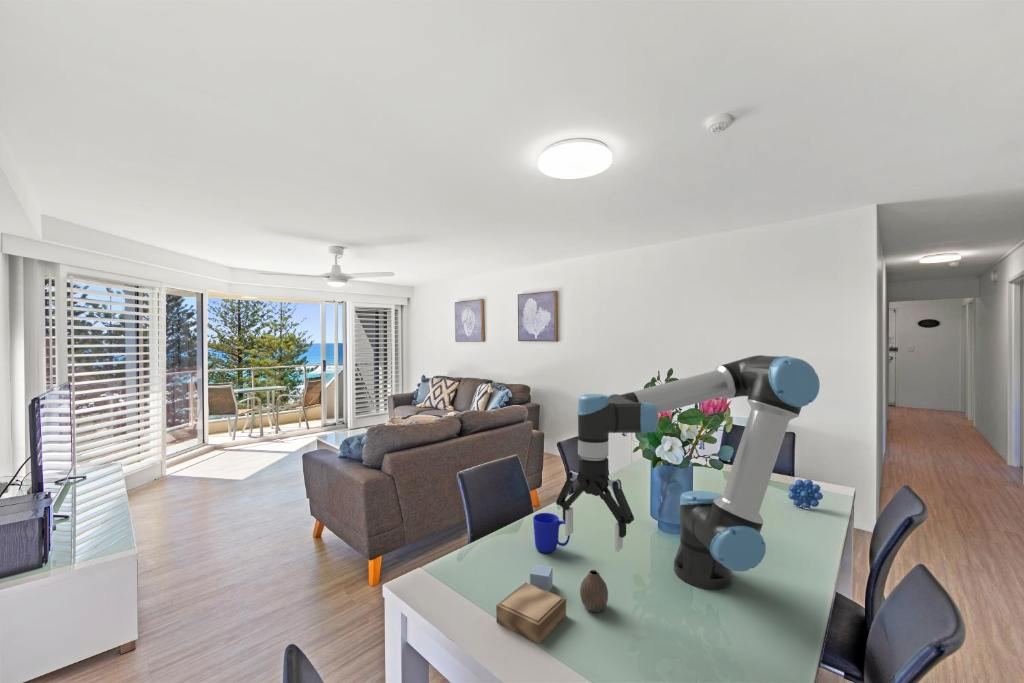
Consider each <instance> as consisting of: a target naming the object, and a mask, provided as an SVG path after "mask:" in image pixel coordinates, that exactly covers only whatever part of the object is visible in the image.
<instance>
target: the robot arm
mask: <svg viewBox="0 0 1024 683" xmlns="http://www.w3.org/2000/svg"><path fill="white" fill-rule="evenodd" d="M814 368H815V367H813V366H812V365H811V364H810V363H809V362H808V361H805V360H804V359H800V358H797V357H792V356H787V355H784V356H783V355H782V356H777V355H776V356H774V355H753V356H748V357H744V358H741V359H738V360H735V361H732V362H728V363H725V364H721V365H718V366H716V367H715V369H714V370H712V371H708V372H704V373H701V374H697V375H692V376H689V377H685V378H682V379H677V380H673V381H670V382H665V383H662V384H658V385H653V386H650V387H646V388H643V389H638V390H634V391H631V392H626V393H622V394H619V393H618V394H616V393H613V394H609V395H606V394H601V393H597V394H596V393H586V394H581V395H580V396H579V398H578V404H577V406H578V407H577V437H578V438H577V455H579V456H578V458H577V470H578V472H576V471H575V470H574V469H572V470H570V471H568V472H567V473H566V480H565V482H564V485H563V486H562V488H561V491H560V493H559V494H558V497H557V499H556V500H555V504H556V505H557V506H560V507H561V508H562V521H565V524H564V525H565V536H566V537H568V536H569V535H570V536H571V535H572V534H573V533H574V507H572V504H574V502H576V500H578V498H579V497H580V496H581V495H582V493H584V492H585V494H586V495H592V496H596V497H598V496H599V498H600V499H601V500H603V502H604V503H605V505H606V507H607V508H608V509H609V510H610V512H611V514H612V515H613V517H614V518H615V520H616V522H615V524H614V542H615V543H614V546H615V547H614V549H615V552H616V553H617V552H618V553H619V552H620V551H621V550H622V549H623V548H624V545H623V544H624V540H623V539H624V538H625V537H626V535H627V525H630V524H631V523H632V522H633V521H634V520H635V517H634V514H633V512H632V509H631V507H630V505H629V502H628V500H627V497H626V496H625V493H624V490H623V488H622V481H621V480H620V479H618V478H617V479H616V480H615V479H614V480H612V479H610V478H609V468H610V467H609V463H610V462H609V458H608V457H609V438H610V437H609V435H610V434H611V433H612V434H617V433H619V434H620V433H622V434H635V433H636V434H646V433H653V432H655V431H656V430H657V428H658V426H659V414H660V413H665V412H668V411H672V410H673V411H674V410H676V409H679V408H684V407H688V406H691V405H696V404H700V403H703V402H707V401H711V400H712V401H713V400H715V399H719V398H726V399H729V400H730V399H734V398H737V397H738V398H741V397H747V399H746V401H747V403H748V405H749V406H750V412H749V414H748V417H747V420H746V424H745V427H744V430H743V433H742V436H741V438H740V442H739V443H738V444H739V445H738V448H737V450H736V454H735V456H734V460H733V462H732V466H731V469H730V471H729V474H728V478H727V480H726V483H725V487H724V489H723V493H722V494H720V493H717V492H713V491H707V490H688V491H685V492H683V493H682V494H680V499H679V500H680V501H679V525H680V526H679V528H680V529H679V530H680V534H679V536H680V537H679V538H680V539H679V540H680V541H679V542H680V544H679V546H678V548H677V551H676V554H675V557H674V561H673V571H674V574H675V575H676V576H677V577H678V578H679V579H681V580H682V581H684V582H685V583H687V584H689V585H692V586H694V587H698V588H702V589H708V590H721V589H725V588H727V587H730V585H732V582H733V572H746V571H749V570H750V569H754V568H756V567H757V566H758V565H760V564H761V562H762V561H763V559H764V557H765V554H766V552H767V551H766V549H767V546H766V542H765V541H764V536H763V535H762V534H761V530H762V527H763V525H764V520H763V518H762V516H761V514H760V510H761V507H762V504H763V501H764V499H765V494H766V492H767V489H768V486H769V483H770V481H771V477H772V475H773V471H774V468H775V465H776V462H777V458H778V456H779V453H780V450H781V447H782V443H783V440H784V438H785V434H786V432H787V429H788V427H789V426H788V425H789V423H790V421H792V420H793V419H795V418H798V417H799V416H800V412H801V410H802V408H803V407H805V406H809V404H811V403H813V402H814V401H815V400H816V398H817V397H818V395H819V392H820V387H821V384H820V379H819V375H818V373H817V372H816V371H815V369H814ZM609 433H610V434H609ZM576 480H577V482H578V484H579V486H577V488H576V489H575V491H574V492H572V494H571V495H570V496H569V493H570V491H571V489H572V487H573V485H574V483H575V481H576ZM609 487H610V489H611V490H612V492H613V495H614V497H615V499H614V497H613V495H612V492H611V491H610V489H609ZM568 496H569V497H568ZM732 571H733V572H732Z"/></svg>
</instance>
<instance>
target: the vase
mask: <svg viewBox="0 0 1024 683" xmlns="http://www.w3.org/2000/svg"><path fill="white" fill-rule="evenodd" d="M608 590H609V589H608V586H607V584H606V582H605V580H604V579H603V577H602V576H601V575H600V573H599V571H598V570H596V569H591V570H589V571H588V572H587V575H586V576H585V577H584V578H583V580H582V582H581V584H580V588H579V594H580V601H581V604H582V605H583V606H584V607H585V609H587V610H588V611H589V612H592V613H598V612H599V613H600V612H601V611H602V610H604V609H605V607H606V606H607V604H608V600H609V591H608Z"/></svg>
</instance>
